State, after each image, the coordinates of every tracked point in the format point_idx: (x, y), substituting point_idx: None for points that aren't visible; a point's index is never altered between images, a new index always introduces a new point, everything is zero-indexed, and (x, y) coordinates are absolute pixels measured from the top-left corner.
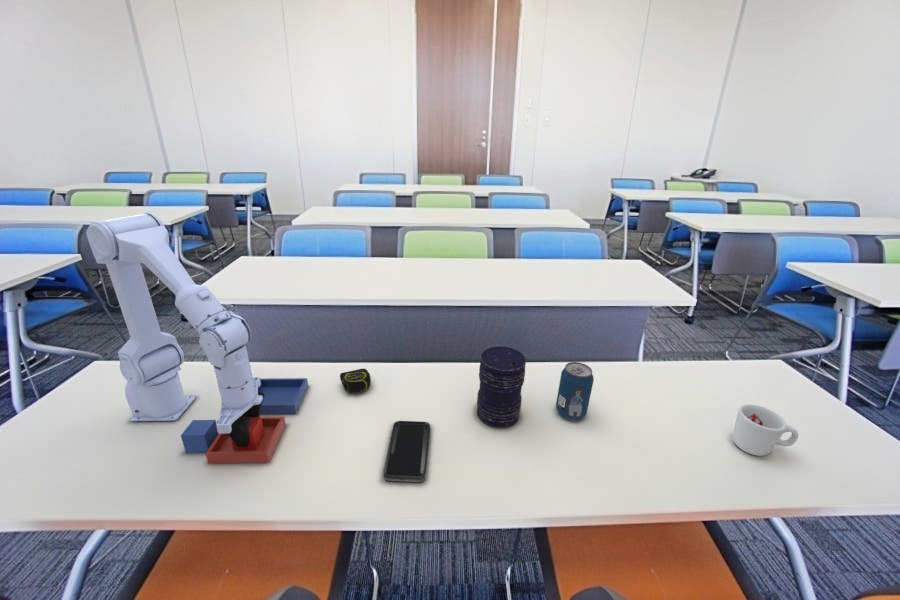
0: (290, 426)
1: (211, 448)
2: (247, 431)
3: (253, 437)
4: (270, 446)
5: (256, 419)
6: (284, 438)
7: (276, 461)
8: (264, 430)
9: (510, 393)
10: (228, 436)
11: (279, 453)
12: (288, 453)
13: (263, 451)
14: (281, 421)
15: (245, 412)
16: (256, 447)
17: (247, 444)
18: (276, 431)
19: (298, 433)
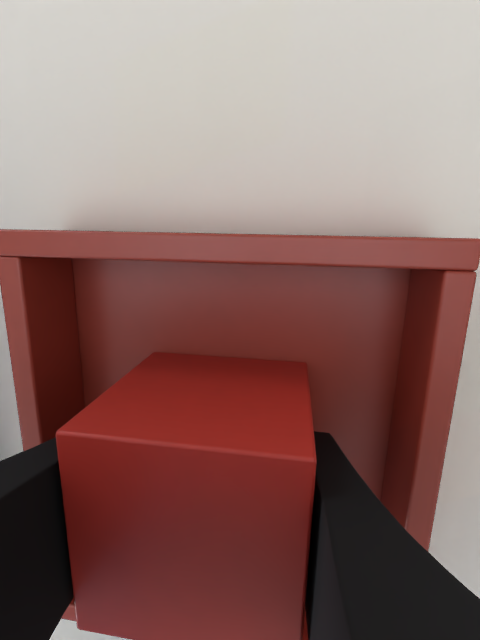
0: (64, 196)
1: None
2: (387, 546)
3: (312, 421)
4: (379, 237)
5: (99, 472)
6: (185, 201)
7: (426, 184)
8: (122, 362)
9: None
10: None
11: (340, 188)
12: (348, 112)
13: (459, 278)
14: (54, 236)
15: (22, 632)
16: (302, 366)
17: (335, 441)
18: (184, 240)
19: (132, 104)
